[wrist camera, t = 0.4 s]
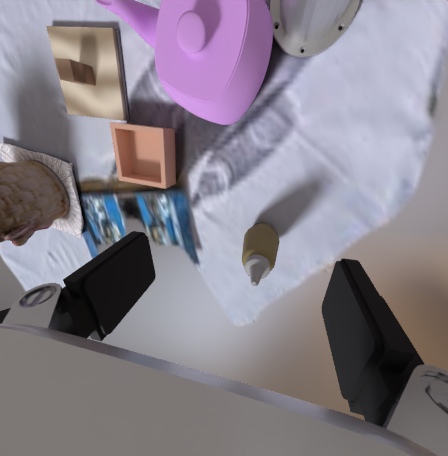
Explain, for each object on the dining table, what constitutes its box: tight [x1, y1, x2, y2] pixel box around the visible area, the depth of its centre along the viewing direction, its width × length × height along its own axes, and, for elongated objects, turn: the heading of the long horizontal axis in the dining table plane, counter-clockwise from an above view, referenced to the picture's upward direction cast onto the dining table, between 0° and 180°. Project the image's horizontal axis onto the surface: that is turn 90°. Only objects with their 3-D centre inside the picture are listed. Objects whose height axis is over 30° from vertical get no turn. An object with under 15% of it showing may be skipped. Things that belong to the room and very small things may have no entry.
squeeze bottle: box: [242, 223, 279, 286], centre depth 40 cm, size 8×8×18 cm
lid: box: [46, 26, 127, 121], centre depth 39 cm, size 15×15×6 cm
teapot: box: [95, 0, 273, 125], centre depth 28 cm, size 23×21×15 cm
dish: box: [110, 122, 176, 188], centre depth 44 cm, size 12×12×5 cm
